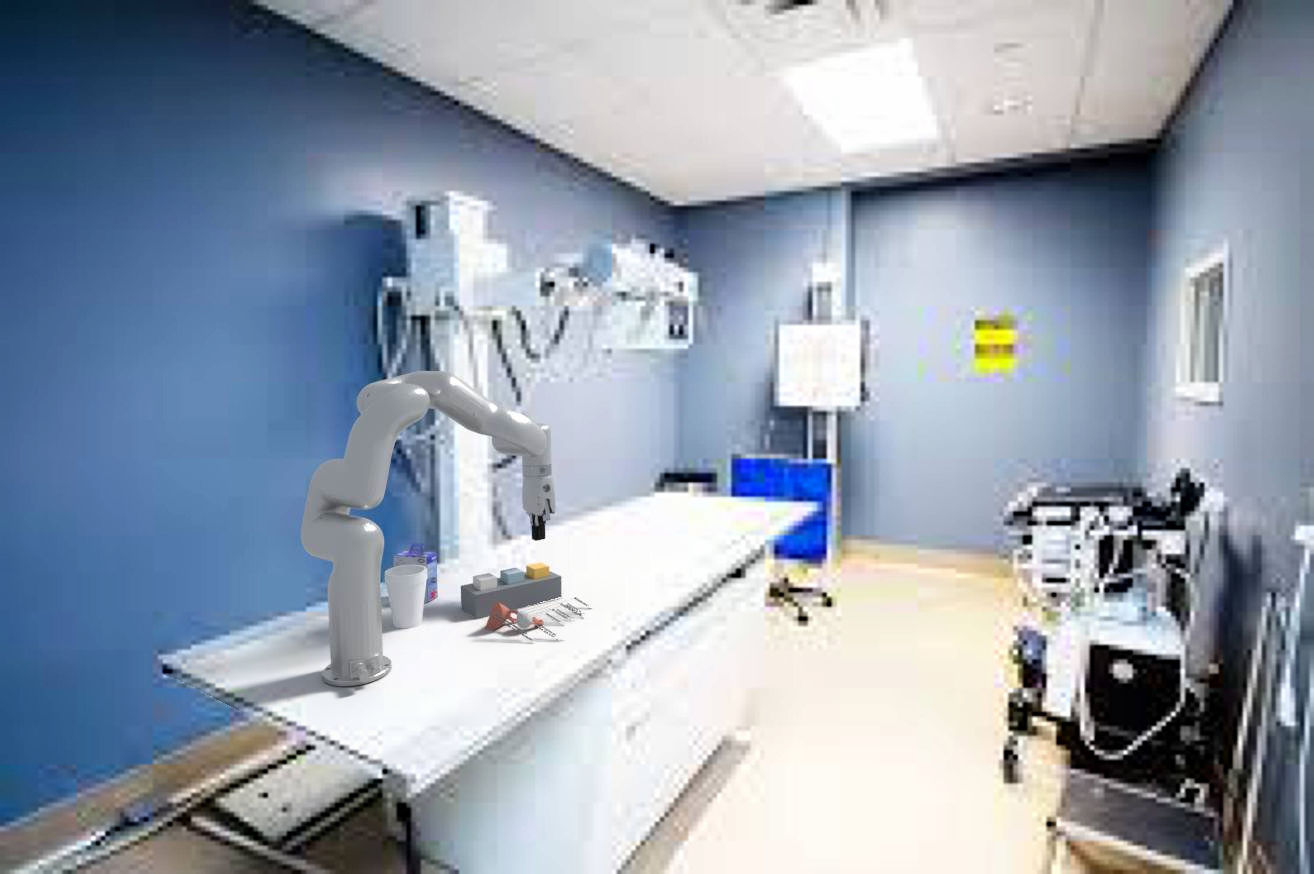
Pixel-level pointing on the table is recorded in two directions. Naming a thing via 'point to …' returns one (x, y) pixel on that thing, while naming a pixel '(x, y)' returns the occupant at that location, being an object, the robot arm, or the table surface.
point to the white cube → (484, 582)
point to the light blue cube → (512, 576)
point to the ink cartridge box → (425, 560)
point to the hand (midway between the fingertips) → (538, 539)
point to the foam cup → (406, 594)
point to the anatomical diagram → (521, 617)
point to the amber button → (537, 570)
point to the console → (510, 594)
